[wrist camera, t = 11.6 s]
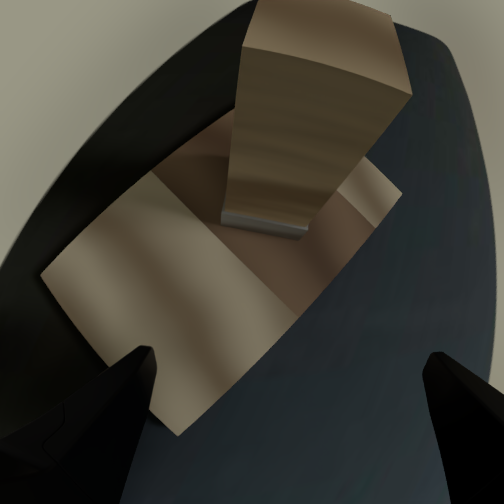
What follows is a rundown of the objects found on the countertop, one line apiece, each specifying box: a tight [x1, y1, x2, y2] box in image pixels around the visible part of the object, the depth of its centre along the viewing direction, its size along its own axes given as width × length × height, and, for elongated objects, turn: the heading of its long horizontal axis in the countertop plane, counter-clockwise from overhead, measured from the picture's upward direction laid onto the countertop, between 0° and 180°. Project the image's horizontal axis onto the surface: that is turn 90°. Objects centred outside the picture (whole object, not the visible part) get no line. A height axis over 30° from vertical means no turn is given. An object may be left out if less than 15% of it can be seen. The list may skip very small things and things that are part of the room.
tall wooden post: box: [221, 0, 412, 241], centre depth 13 cm, size 5×5×13 cm
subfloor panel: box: [40, 108, 402, 436], centre depth 20 cm, size 22×13×2 cm, turn 135°
